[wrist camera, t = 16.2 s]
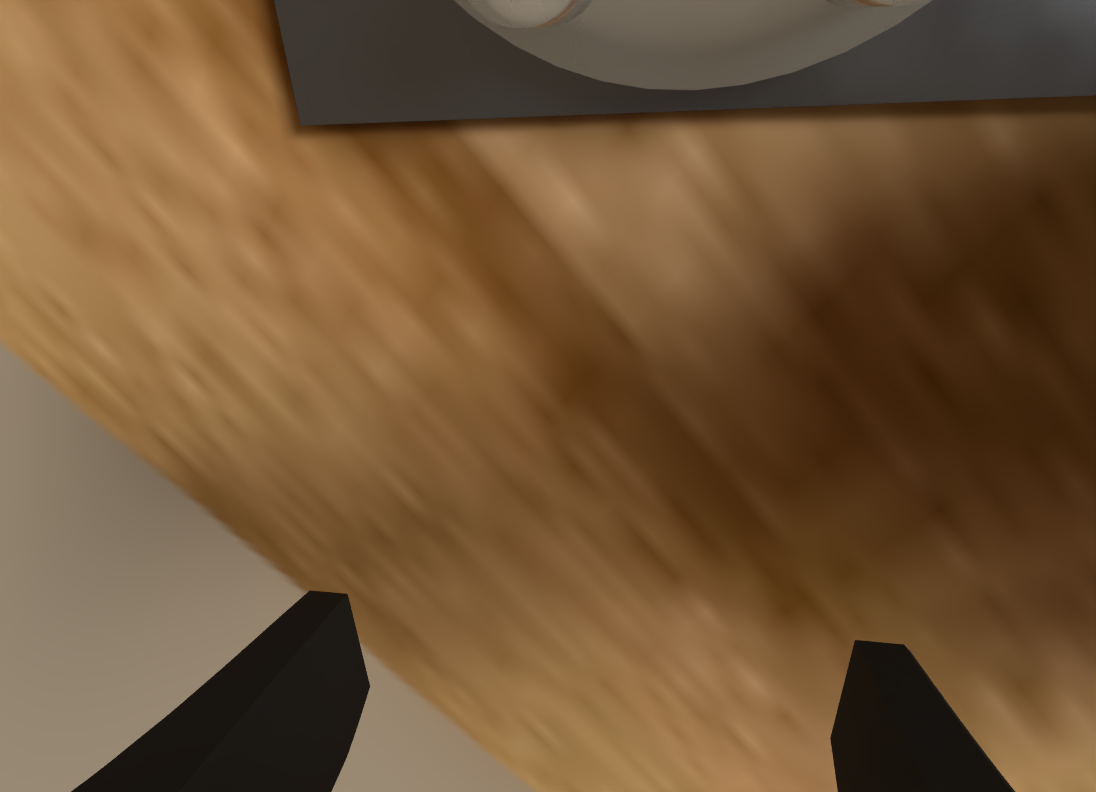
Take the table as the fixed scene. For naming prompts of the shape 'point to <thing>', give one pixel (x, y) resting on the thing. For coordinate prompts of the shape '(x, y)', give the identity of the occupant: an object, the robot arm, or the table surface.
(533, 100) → the base plate
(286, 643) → the robot arm
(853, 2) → the pinned metal disc
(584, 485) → the table surface
